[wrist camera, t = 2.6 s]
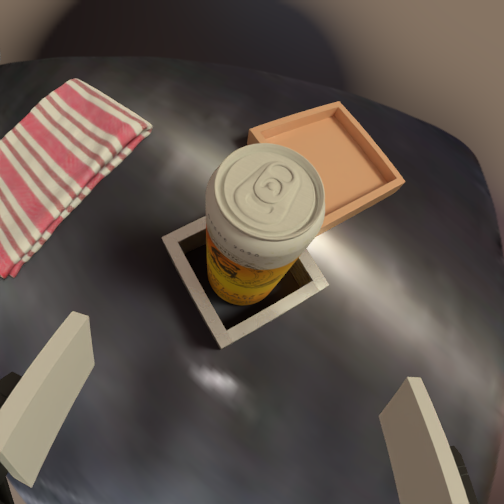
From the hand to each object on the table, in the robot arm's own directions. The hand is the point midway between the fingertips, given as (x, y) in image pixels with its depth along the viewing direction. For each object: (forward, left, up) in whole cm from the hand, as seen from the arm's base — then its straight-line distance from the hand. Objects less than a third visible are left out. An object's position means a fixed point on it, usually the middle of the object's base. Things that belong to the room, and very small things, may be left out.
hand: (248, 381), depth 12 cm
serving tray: (-13, +19, -15) cm, 28 cm away
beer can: (-7, +5, -15) cm, 18 cm away
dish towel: (-29, -9, -16) cm, 34 cm away
